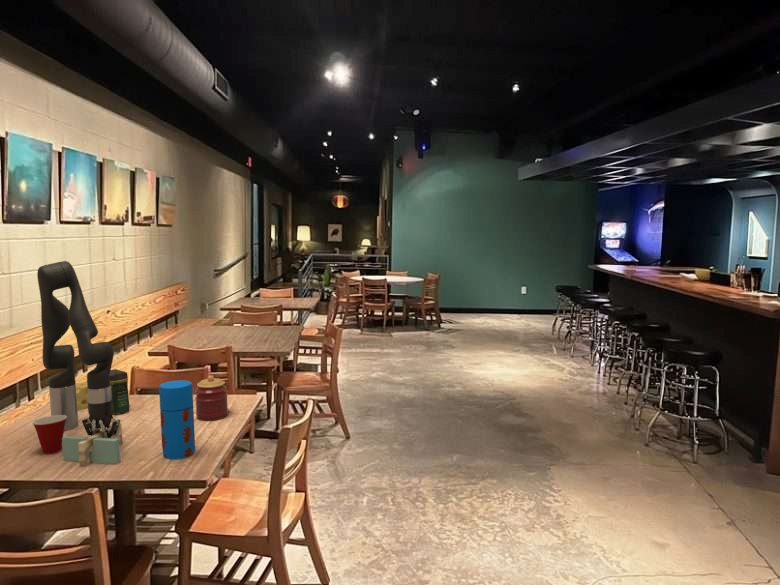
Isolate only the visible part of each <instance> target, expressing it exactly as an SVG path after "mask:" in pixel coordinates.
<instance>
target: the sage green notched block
mask: <svg viewBox="0 0 780 585" xmlns="http://www.w3.org/2000/svg"><path fill="white" fill-rule="evenodd" d="M87 438H89V437H88V436H76V435H75V436H73V435H65V436H63V438H62V458H63V461H67V462H79V447H78V443H79V442H81V441H83V440H85V439H87ZM120 451H121V450H120V446H119V439H111V438H95V439H93V450H92V451H91V452H89V458H90V463H96V464H98V463H99V464H109V465H110V464H112V465H118V464H119V463H120V462H121V452H120Z"/></svg>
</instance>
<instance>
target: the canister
mask: <svg viewBox="0 0 780 585" xmlns="http://www.w3.org/2000/svg"><path fill="white" fill-rule="evenodd" d="M225 383H226V382H225V381H224V380H222V379H221V378H219V377H218V378H216V377H214V375H212V374H211V375H208V376H207V378H205V379H202V380H200V381H199V382H198V383H196V386H197V387H196V388H195V389H194V392H195V393H196V395H195V406H196V407H195V408H196V409H195V410H196V411H195V416H196V419H197V420H200V421H204V422H205V421H207V422H208V421H210V422H211V421H217V420H221V419H224V418H226V417H227V416H228V414H229V413H228V412H229V408H228V394H227V390H228V386H227V385H225Z"/></svg>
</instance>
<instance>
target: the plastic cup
mask: <svg viewBox="0 0 780 585" xmlns="http://www.w3.org/2000/svg"><path fill="white" fill-rule="evenodd" d="M66 419H67V416H65V415H56V416H51V415H50V416H45V417H41V418H36V419H34V420H33V421H31V423H32V425H33V427H34V429H35V432H36V434H37V439H38V442H39V444H40V447H41V452H42V453H43V454H45V455H46V454H48V455H49V454H55V453H58V452H60V451H61V450H62V449H63V447H62V438H63V437H64V431H65V430H64V426H65V421H66Z"/></svg>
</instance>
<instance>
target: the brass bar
mask: <svg viewBox="0 0 780 585" xmlns="http://www.w3.org/2000/svg"><path fill="white" fill-rule="evenodd" d="M111 427H112V425H111ZM95 438H105V437H104V433H103V432H102V430H100V432H98V433H96V434H94V435H93V436H91V435H90V436H89V437H88V438H87V439H85V440H83V441H81V442H79V443H78V447H79V461H78V462H79V467H87V466H88V465H90V464H91V462H90V458H89V452H91V451H92V450H93V439H95ZM111 439H119V447H120V446H122V445H123V443H124V442H123V428H122V423H121V422H120V424H119V427H118V430H117V433H116V434H115V435H113V436H112V437H111Z"/></svg>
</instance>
